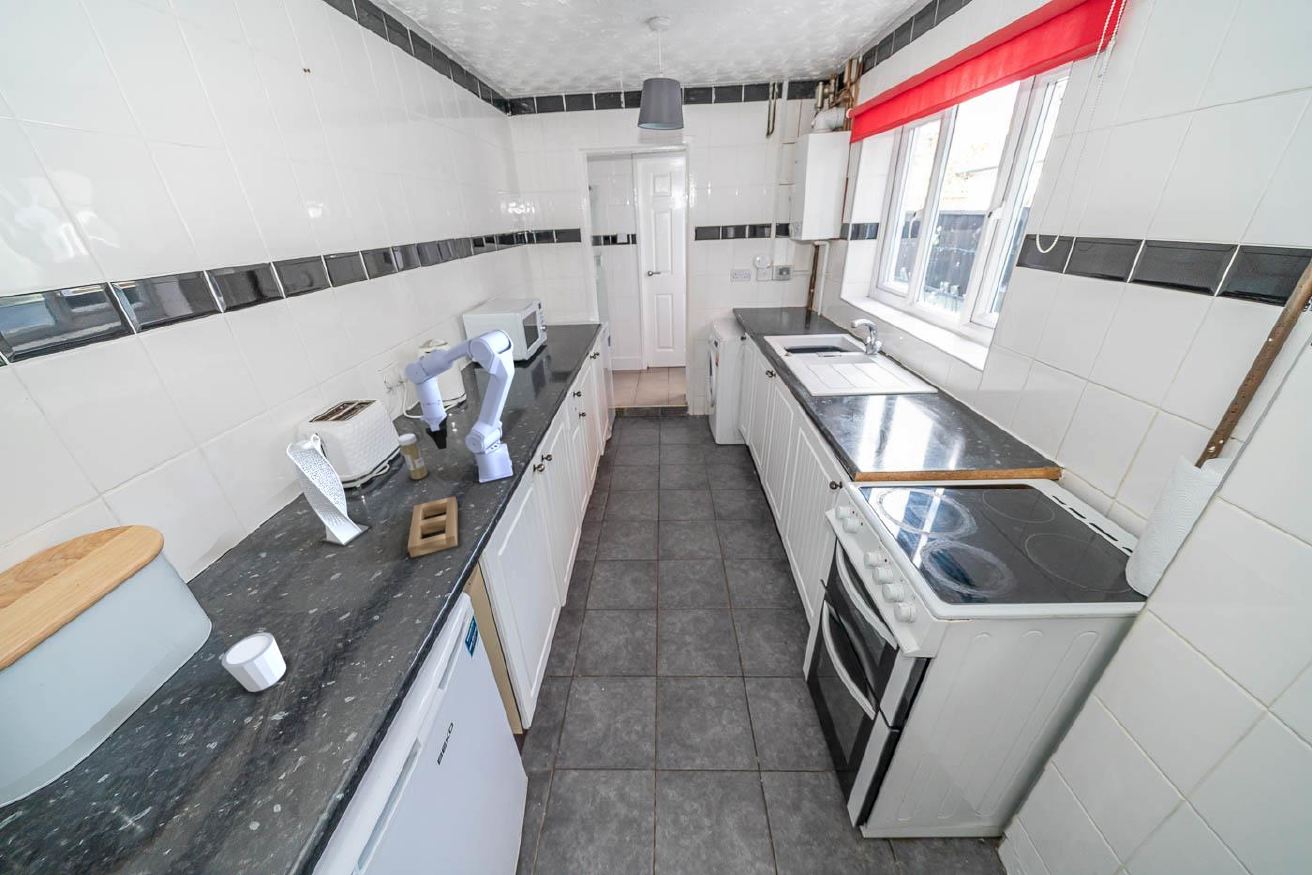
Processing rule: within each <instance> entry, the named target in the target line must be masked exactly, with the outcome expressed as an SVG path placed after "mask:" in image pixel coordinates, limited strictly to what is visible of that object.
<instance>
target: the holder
mask: <svg viewBox="0 0 1312 875" xmlns="http://www.w3.org/2000/svg"><path fill="white" fill-rule="evenodd" d="M458 509H459V505H458V502H457V498H456V495H455V496H449V497H445V498H442V499H437V500H432V501H429V502H423V503H420V504H415V505H413V510H412V517H411V522H410V529H409V535H408V542H407V550H408V553H409V556H410V558H416V557H420V556H423V555H427V554H431V553H434V552H438V551H443V550H446V549H450V548H455V547H458V532H459V530H458V527H459V524H458V522H459V520H458V519H459V518H458V516H459V514H458V513H459V510H458ZM439 514H442V515H439ZM436 515H439V516H436ZM432 516H433V517H432ZM434 516H435V517H434ZM427 517H430V518H427ZM441 531H445V533H442V534H437V535H433V536H430V537H425V538H423V537H424V536H425V535H430V534H434V533H438V532H441Z"/></svg>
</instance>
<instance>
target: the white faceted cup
mask: <svg viewBox="0 0 1312 875" xmlns="http://www.w3.org/2000/svg"><path fill="white" fill-rule="evenodd" d="M279 648H280V647H279V646H278V644H277V641H276V640H275V637H274V635H273V634H272V633H270V632H258V633H254V634H251V635H248V636H247V637H244V638H242V639H241V640H240V641H238V642H236V643H234V644H233V645H232V646H231V647H230V648H229V649H228V650H226V652H225V653H224V655H223V657H222V658H221V666H222V667H223V668H224V669H226V671H227V672H228V673H229V674H231V675H232V677H234V679H236V681H237V682H239V683H240V685H242V686H243V688H244V689H246V691H248V692H251V693H252V692H253V693H257V692H261V691H263V690H266V689H267V688H269V687H271V686H273V685H274V684H276V683H277V682H278V681H279V680H280V679H281V678H282V677H283V675H284V674H285V673H286V670H287V665H286V662H285V660H284V657H283V656H282V652H281V651H280V649H279Z"/></svg>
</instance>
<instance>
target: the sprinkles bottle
mask: <svg viewBox="0 0 1312 875" xmlns="http://www.w3.org/2000/svg"><path fill="white" fill-rule="evenodd" d="M397 441H398V444H399V446H400V448H401V452H402V454H403V457H404V461H405V463H406V466H407V469H408V470H409V472H410V473H409V474H410V478H411V479H412V480H420V479H421V480H422V479H423V478H425V477H426V476H427V475H428V471H427V469H426V466H425V463H424V459H423V456H422V453H421V451H420V449H419V444H418V442H417V437H416V434H414V433H404V434H402V435H400V436H399V437H398V438H397Z"/></svg>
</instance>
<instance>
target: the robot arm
mask: <svg viewBox="0 0 1312 875" xmlns="http://www.w3.org/2000/svg"><path fill="white" fill-rule="evenodd" d="M514 346H515V344H514V342H513V341H512V339H511V337H510V336H509V334H508V333H507V332H506V331H504V330H503V329H500V328H496V329H493V330H491V331H490V332H489V331H488V332H484V333H481V334H478V335H475V336H472V337H470V338H467V339H465V340H463V341H461V342H460V343H457V344H456V345H453V347H450V348H449V349H447V350H446V349H443V348H439V349H437V348H434V349H431V350H430V351H429V354H427V355H422V356H419V357H418V360H415V361H413V362H409V363H408V364H407V365H406V366H405V369H404V373H405V376H406V378H407V379H408V380H409V381H410V382H411V383H412V384H413V385H414V388H415V392H416V395H417V398H418V401H419V403H420V404H419V405H420V408H421V410H422V414H423V415H421V416H420V417H419V420H420V421H421V422H423V421H425V422H426V423H427V424H428V425H429V427H426V428H425V433H426V434H427V435H428V436H429V438H431V439H432V440H433V442H434V444H435V445H436V447H437V448H438V450H444V449H447V447H448V446H447V444H448V443H447V438H448V425H447V422H448V417H449V413H448V412H446V410H445V406H444V402H443V399H442V396H441V392H440V389H439V385H438V381H439V379H438V376H439V375H440V374H442V373H444V372H447V371H448V370H451V369H452V368H453V367H454V362H455V361H457V360H460V359H461V358H463V357H466V356H467V355H468V357H469V358H470V359H473V358H474V360H476V362H477V363H478V364H479V365H480V366H481V367H482V368H483V369H484V370H485V371H486V372H487V373H488V374H490V378H489V380H488V385H487V387H486V392H485V395H484V397H483V398H484V399H483V402H482V404H481V409H480V412H479V416H478V419H477V420H476V422H475V423H474V424H473V426H472V427H471V429H470V432H469V433H468V434H467V435H466V436H465V438H464V444H465V447H466V448H467V449H468V450H469V451H470V452H472V454H474V457H475V461H476V465H477V469H478V481H479V483H481V484H482V483H487V482H491V481H495V480H499V479H503V478H509V477H513V475H514V472H513V462H512V459H511V458H510V455H509V450H508V445H507V443H501V440H500V439H502V437H503V429H502V427H503V422H502V421H501V420H500V419H501V416H502V413H503V410H504V407H505V403H506V401H507V397H508V394H509V391H510V388H511V385H512V381H513V379H514V375H515V364H514V357H513V350H514Z"/></svg>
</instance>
